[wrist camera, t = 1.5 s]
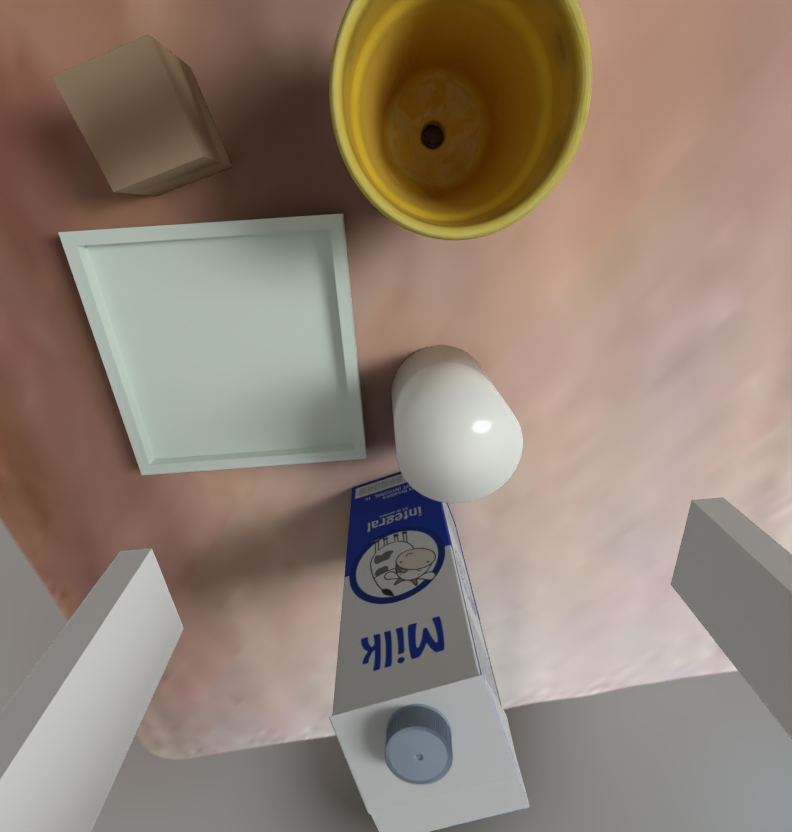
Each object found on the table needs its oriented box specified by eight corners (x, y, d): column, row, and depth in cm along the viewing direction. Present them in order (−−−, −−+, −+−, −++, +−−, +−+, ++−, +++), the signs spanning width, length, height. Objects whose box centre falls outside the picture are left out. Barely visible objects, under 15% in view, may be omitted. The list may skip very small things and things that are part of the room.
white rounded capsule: (388, 348, 31) (392, 396, 23) (487, 341, 31) (526, 386, 23) (394, 437, 34) (400, 507, 26) (485, 431, 34) (519, 498, 26)
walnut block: (110, 101, 25) (51, 76, 20) (190, 67, 25) (148, 34, 20) (157, 196, 27) (113, 191, 22) (233, 166, 27) (203, 156, 22)
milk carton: (379, 549, 39) (382, 849, 20) (350, 488, 36) (322, 769, 18) (457, 525, 38) (533, 813, 20) (433, 460, 35) (495, 724, 17)
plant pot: (397, 264, 29) (406, 285, 20) (310, 94, 25) (274, 27, 16) (546, 178, 27) (628, 160, 18) (477, -17, 23) (539, -160, 15)
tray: (74, 231, 27) (58, 232, 26) (343, 213, 28) (341, 213, 26) (151, 464, 34) (141, 475, 33) (366, 449, 34) (366, 458, 33)
